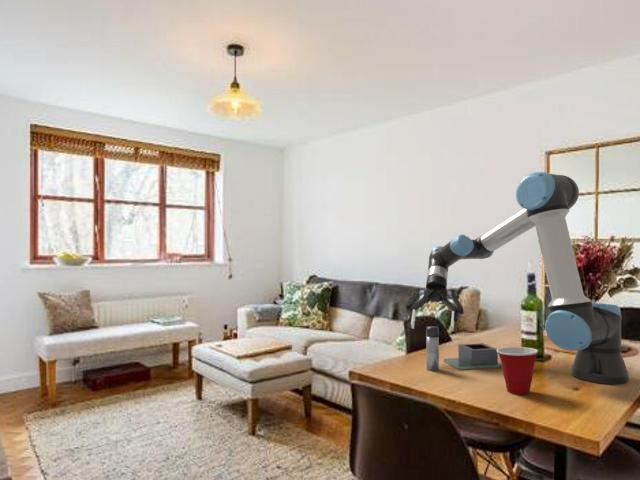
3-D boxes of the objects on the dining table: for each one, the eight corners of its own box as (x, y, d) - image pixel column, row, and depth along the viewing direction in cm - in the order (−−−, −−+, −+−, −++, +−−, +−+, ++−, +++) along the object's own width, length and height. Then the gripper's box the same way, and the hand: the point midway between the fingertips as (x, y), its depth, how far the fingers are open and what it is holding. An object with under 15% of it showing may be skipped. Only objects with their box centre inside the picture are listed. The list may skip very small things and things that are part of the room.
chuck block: (502, 367, 153) (502, 349, 153) (458, 369, 150) (457, 351, 150) (485, 359, 164) (485, 342, 164) (443, 361, 161) (443, 344, 161)
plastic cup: (506, 383, 135) (506, 343, 135) (544, 391, 127) (544, 348, 128) (489, 391, 128) (489, 348, 128) (528, 400, 120) (528, 355, 120)
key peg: (440, 370, 149) (440, 328, 150) (429, 371, 149) (428, 328, 149) (435, 367, 153) (435, 326, 154) (424, 368, 153) (424, 326, 153)
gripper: (471, 288, 170) (470, 336, 156) (405, 286, 179) (397, 331, 165) (471, 275, 165) (469, 323, 151) (402, 273, 174) (394, 319, 160)
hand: (431, 327), depth 158 cm, fingers open, 13 cm apart
